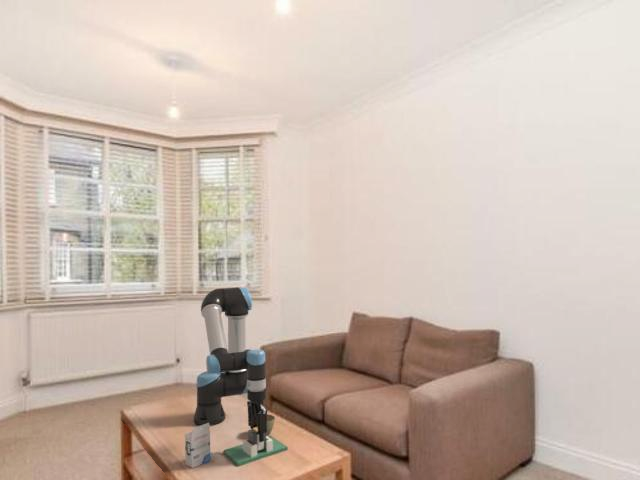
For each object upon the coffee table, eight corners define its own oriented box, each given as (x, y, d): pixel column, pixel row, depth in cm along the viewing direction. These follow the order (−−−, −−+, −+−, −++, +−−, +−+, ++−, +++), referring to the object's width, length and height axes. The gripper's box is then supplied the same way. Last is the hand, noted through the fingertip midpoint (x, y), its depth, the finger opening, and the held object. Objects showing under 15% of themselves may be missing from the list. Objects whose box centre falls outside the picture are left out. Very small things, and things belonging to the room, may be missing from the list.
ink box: (203, 456, 173) (202, 419, 173) (211, 460, 170) (210, 422, 170) (184, 464, 166) (184, 426, 167) (192, 468, 163) (191, 429, 164)
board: (223, 453, 175) (223, 440, 175) (270, 438, 188) (270, 426, 188) (238, 466, 164) (238, 452, 164) (287, 449, 177) (287, 436, 177)
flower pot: (271, 439, 187) (271, 422, 187) (249, 438, 189) (249, 421, 189) (278, 430, 197) (277, 414, 197) (257, 429, 199) (257, 413, 199)
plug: (248, 449, 174) (248, 429, 174) (261, 445, 178) (261, 425, 178) (253, 453, 171) (252, 432, 171) (266, 448, 174) (266, 428, 175)
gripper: (239, 386, 180) (240, 442, 179) (258, 396, 166) (259, 457, 165) (255, 382, 184) (256, 437, 183) (275, 392, 171) (276, 452, 170)
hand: (257, 447), depth 174 cm, fingers closed on plug, 4 cm apart
